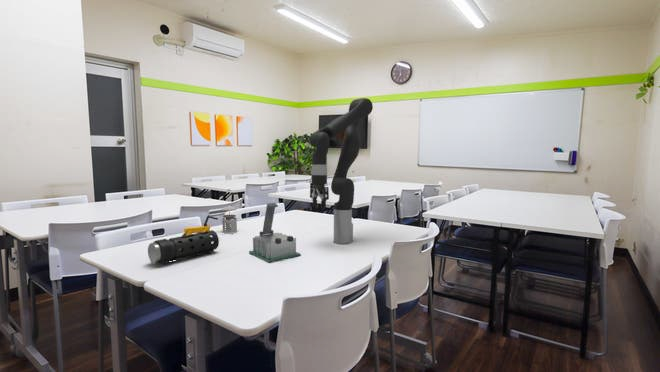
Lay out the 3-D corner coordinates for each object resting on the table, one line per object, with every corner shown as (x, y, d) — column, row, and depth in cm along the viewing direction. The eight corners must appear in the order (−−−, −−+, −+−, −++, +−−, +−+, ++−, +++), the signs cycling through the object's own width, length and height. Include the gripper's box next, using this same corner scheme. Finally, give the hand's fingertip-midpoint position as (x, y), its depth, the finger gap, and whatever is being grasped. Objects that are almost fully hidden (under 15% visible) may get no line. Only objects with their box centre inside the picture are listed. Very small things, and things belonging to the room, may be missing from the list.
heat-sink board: (279, 247, 172) (279, 227, 171) (301, 256, 158) (301, 235, 157) (249, 253, 162) (248, 232, 161) (269, 263, 148) (269, 240, 147)
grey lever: (272, 235, 164) (269, 232, 166) (277, 205, 159) (274, 202, 161) (265, 237, 162) (261, 234, 164) (270, 206, 156) (266, 203, 158)
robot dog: (220, 241, 183) (220, 215, 182) (184, 246, 172) (183, 219, 171) (217, 238, 188) (216, 213, 186) (181, 243, 177) (180, 217, 176)
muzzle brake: (219, 253, 162) (219, 231, 161) (158, 269, 140) (157, 243, 139) (207, 249, 168) (207, 228, 166) (147, 264, 146) (146, 239, 145)
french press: (229, 235, 195) (227, 190, 192) (215, 232, 201) (213, 189, 198) (242, 232, 203) (241, 188, 200) (228, 229, 209) (227, 187, 207)
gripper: (333, 174, 165) (333, 209, 166) (318, 174, 178) (318, 206, 178) (319, 174, 162) (319, 209, 162) (305, 174, 174) (305, 206, 174)
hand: (319, 207), depth 170 cm, fingers open, 8 cm apart
